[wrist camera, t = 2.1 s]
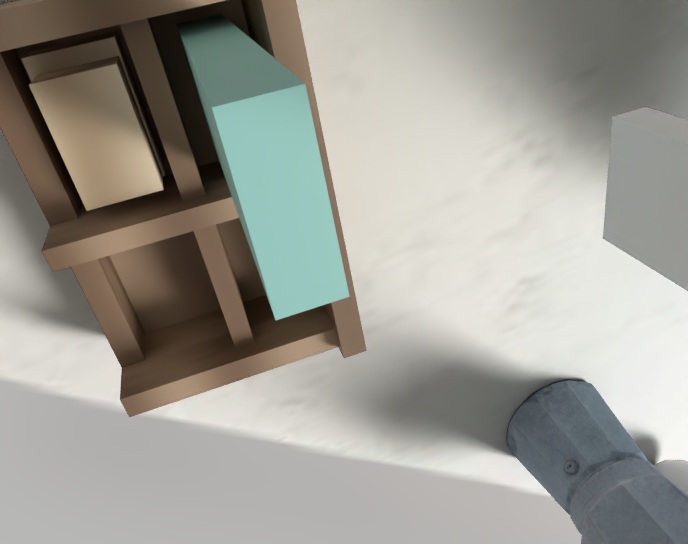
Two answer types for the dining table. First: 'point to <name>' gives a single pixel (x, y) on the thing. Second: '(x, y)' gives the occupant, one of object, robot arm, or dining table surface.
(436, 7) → the dining table surface
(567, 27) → the dining table surface
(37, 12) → the rack
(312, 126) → the panel
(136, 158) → the offcut top
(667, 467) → the donut
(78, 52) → the block
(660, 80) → the dining table surface
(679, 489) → the moka pot
